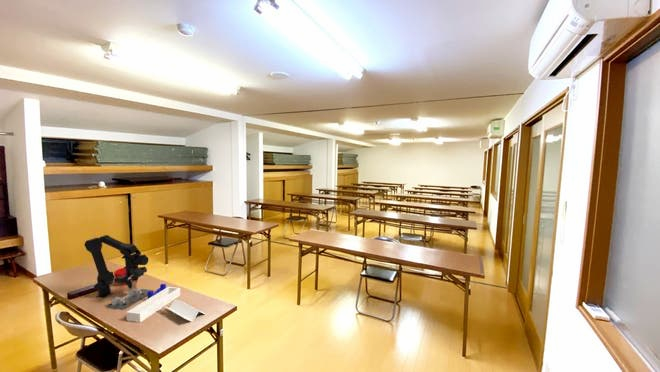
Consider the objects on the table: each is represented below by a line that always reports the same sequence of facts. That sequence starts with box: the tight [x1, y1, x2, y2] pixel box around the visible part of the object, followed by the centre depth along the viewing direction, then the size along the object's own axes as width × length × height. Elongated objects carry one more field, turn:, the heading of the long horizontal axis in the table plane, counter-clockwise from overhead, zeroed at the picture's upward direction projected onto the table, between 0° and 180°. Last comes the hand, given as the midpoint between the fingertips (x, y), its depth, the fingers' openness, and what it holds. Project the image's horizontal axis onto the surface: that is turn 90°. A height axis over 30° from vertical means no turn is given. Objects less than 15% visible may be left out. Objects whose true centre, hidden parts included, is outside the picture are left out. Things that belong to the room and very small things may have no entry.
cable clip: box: [147, 283, 167, 299], centre depth 181 cm, size 12×4×6 cm, turn 170°
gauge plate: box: [107, 287, 155, 311], centre depth 176 cm, size 12×22×5 cm, turn 169°
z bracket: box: [162, 298, 206, 322], centre depth 162 cm, size 12×25×6 cm
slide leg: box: [127, 280, 141, 295], centre depth 180 cm, size 8×3×9 cm, turn 79°
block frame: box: [125, 286, 181, 323], centre depth 168 cm, size 9×31×5 cm, turn 169°
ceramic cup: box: [113, 267, 132, 286], centre depth 200 cm, size 13×17×10 cm
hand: (132, 287), depth 180 cm, fingers closed on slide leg, 3 cm apart
